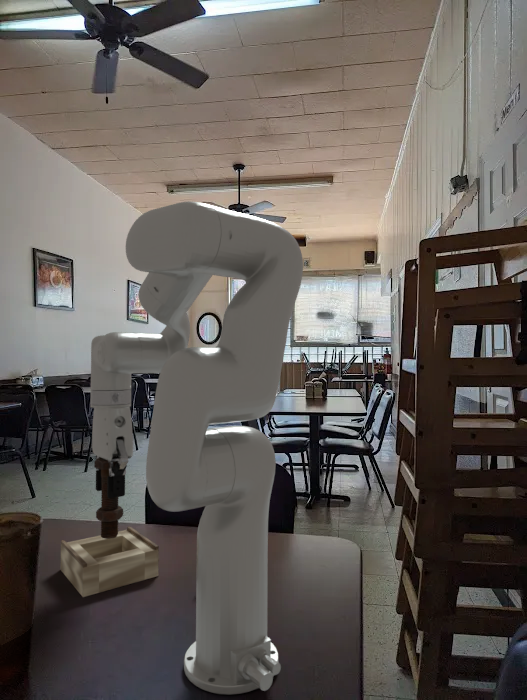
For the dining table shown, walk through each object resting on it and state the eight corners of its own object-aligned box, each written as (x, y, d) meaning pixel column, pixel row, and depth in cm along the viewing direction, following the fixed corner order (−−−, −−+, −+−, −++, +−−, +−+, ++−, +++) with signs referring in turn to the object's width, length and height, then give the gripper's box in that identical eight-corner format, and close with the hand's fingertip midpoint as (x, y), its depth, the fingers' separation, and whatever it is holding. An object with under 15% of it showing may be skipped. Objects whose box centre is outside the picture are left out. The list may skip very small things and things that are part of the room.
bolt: (113, 543, 90) (114, 461, 91) (89, 541, 91) (90, 460, 92) (128, 532, 96) (129, 456, 96) (105, 530, 97) (106, 455, 97)
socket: (158, 575, 92) (158, 546, 92) (82, 597, 84) (83, 564, 84) (129, 552, 103) (129, 526, 103) (60, 569, 95) (60, 540, 95)
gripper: (147, 401, 90) (146, 499, 89) (113, 396, 103) (113, 481, 103) (107, 402, 85) (106, 507, 85) (77, 397, 99) (76, 487, 98)
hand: (110, 492), depth 94 cm, fingers closed on bolt, 5 cm apart
